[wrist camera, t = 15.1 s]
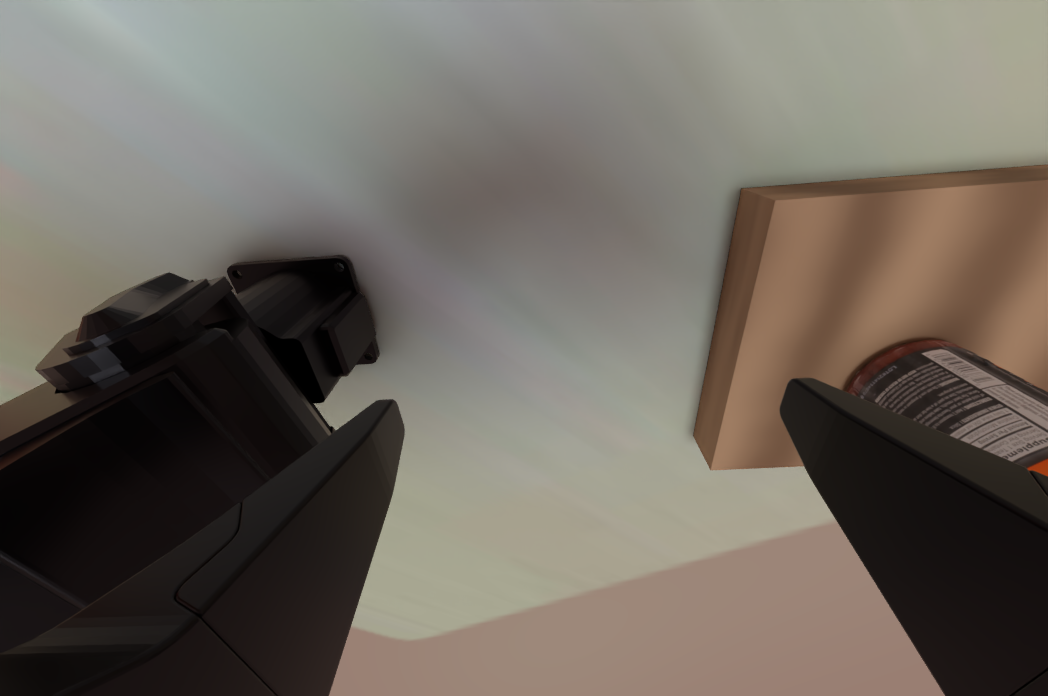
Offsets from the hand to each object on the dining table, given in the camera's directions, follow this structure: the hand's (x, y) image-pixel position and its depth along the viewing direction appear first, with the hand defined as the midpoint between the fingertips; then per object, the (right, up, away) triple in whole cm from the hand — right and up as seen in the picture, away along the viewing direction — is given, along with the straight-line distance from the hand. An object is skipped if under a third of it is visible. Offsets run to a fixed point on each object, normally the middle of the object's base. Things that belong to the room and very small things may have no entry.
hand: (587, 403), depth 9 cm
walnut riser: (+19, +3, +13) cm, 24 cm away
